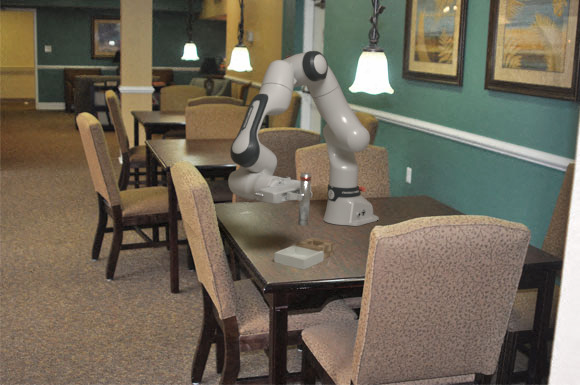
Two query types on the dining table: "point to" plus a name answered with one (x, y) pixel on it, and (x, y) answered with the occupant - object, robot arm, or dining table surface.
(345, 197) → the robot arm
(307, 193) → the cylinder
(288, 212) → the dining table surface
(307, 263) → the tray
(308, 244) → the wooden square frame
